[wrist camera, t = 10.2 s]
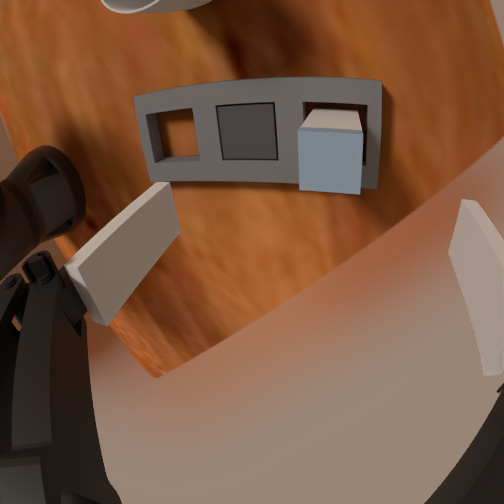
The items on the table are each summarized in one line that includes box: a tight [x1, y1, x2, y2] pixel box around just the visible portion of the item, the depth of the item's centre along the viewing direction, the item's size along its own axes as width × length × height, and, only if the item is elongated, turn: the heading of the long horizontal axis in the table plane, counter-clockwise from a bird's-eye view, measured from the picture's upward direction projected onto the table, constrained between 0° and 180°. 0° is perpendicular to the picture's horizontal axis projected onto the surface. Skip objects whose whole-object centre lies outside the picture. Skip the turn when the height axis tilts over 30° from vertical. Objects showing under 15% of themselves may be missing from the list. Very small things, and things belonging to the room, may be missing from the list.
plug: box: [297, 108, 363, 195], centre depth 22 cm, size 4×4×10 cm
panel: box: [133, 77, 382, 190], centre depth 27 cm, size 24×10×2 cm, turn 95°
